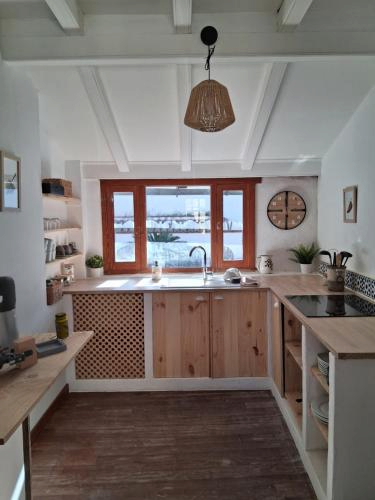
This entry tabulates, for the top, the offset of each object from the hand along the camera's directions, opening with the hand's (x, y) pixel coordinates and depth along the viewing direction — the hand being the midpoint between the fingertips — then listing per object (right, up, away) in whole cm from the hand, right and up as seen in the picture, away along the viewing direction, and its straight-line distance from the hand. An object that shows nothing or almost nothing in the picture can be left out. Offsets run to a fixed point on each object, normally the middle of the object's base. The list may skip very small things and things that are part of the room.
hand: (27, 349), depth 153 cm
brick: (0, -6, 0) cm, 6 cm away
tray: (+4, -4, +15) cm, 16 cm away
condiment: (+4, -2, +30) cm, 30 cm away
